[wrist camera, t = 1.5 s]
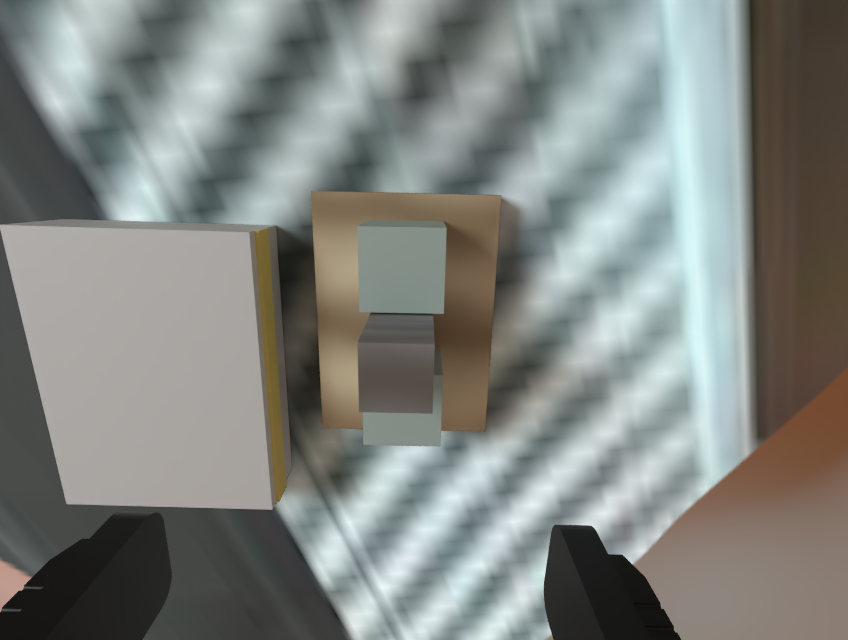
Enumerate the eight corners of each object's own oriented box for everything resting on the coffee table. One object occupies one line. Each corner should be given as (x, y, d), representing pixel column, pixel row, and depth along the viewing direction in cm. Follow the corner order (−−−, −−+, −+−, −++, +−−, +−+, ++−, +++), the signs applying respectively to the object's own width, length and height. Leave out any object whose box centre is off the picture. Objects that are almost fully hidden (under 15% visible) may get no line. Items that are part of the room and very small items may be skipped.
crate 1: (368, 219, 24) (357, 226, 20) (443, 221, 24) (446, 227, 20) (369, 292, 25) (359, 312, 21) (441, 294, 25) (443, 313, 21)
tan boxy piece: (319, 190, 25) (254, 193, 16) (495, 194, 25) (538, 199, 16) (329, 412, 29) (282, 521, 20) (481, 415, 29) (508, 526, 20)
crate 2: (371, 346, 26) (362, 374, 22) (440, 347, 26) (443, 375, 22) (372, 408, 27) (363, 445, 23) (438, 409, 27) (440, 446, 23)
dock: (279, 225, 25) (253, 232, 21) (295, 470, 30) (275, 512, 26) (64, 219, 25) (-1, 224, 21) (113, 465, 30) (67, 506, 26)
